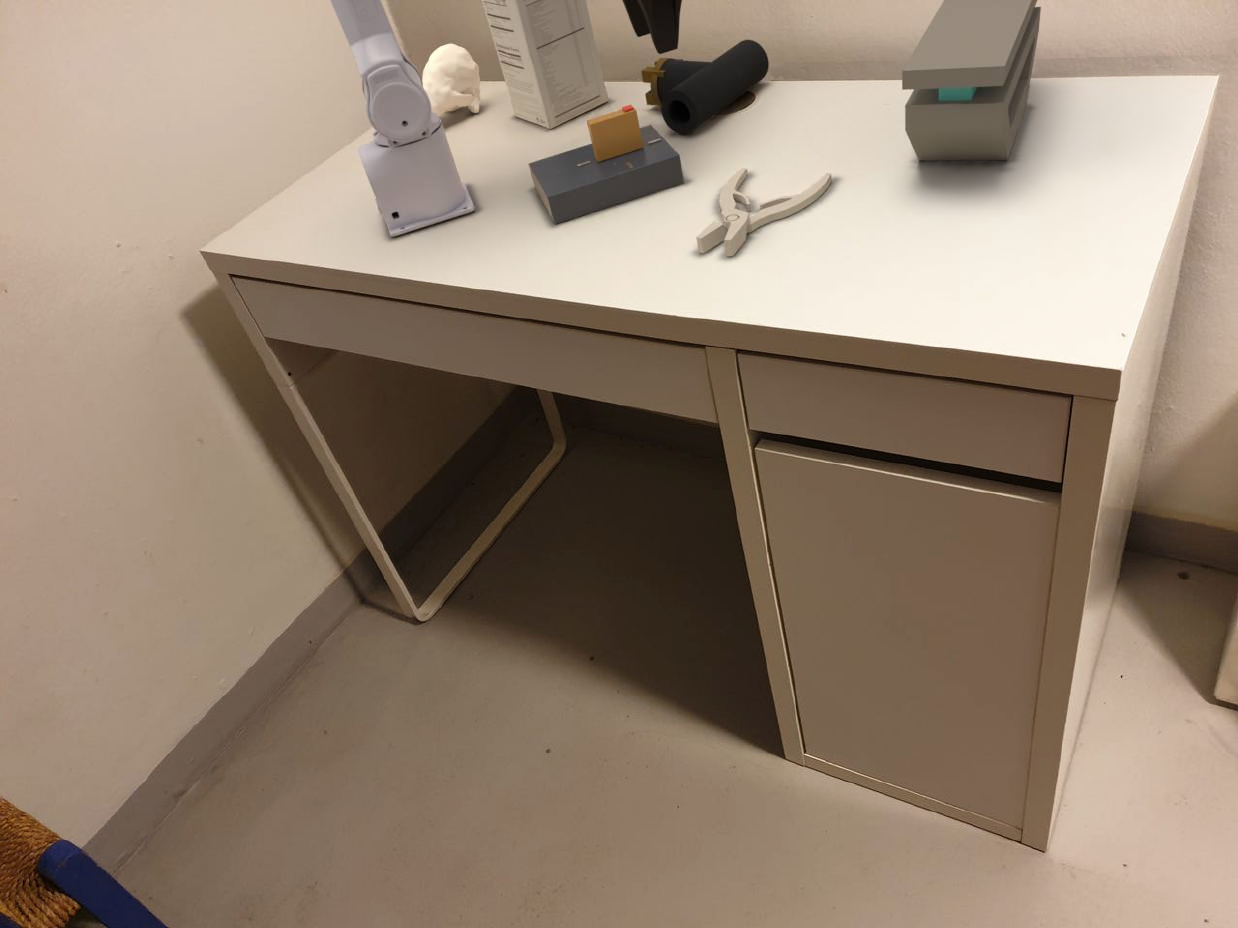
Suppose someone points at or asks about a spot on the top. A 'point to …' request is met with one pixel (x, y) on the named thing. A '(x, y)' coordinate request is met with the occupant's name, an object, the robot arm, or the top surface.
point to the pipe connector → (703, 84)
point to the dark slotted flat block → (604, 177)
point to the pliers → (742, 223)
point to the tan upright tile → (615, 133)
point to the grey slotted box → (971, 79)
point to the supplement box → (547, 58)
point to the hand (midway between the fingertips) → (656, 42)
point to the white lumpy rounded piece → (451, 80)
